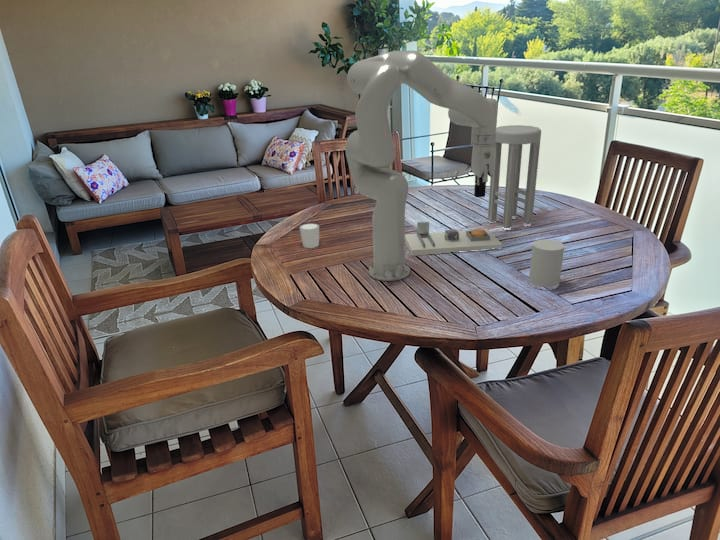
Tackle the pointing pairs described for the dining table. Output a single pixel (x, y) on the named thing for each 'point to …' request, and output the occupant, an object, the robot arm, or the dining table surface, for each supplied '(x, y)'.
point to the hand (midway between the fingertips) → (479, 196)
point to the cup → (546, 263)
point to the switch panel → (450, 242)
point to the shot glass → (310, 235)
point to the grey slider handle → (423, 229)
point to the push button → (477, 233)
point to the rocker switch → (451, 233)
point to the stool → (514, 172)
